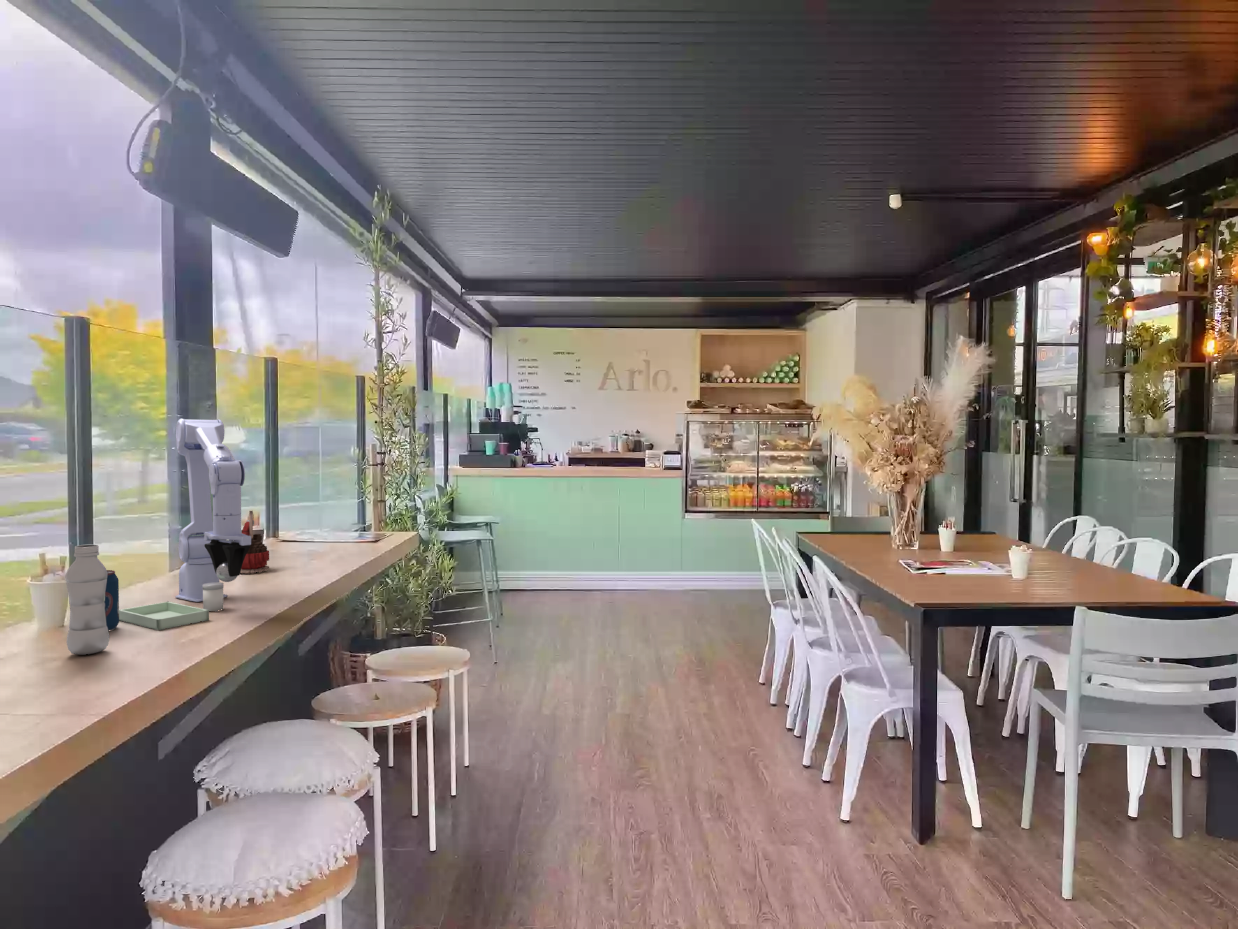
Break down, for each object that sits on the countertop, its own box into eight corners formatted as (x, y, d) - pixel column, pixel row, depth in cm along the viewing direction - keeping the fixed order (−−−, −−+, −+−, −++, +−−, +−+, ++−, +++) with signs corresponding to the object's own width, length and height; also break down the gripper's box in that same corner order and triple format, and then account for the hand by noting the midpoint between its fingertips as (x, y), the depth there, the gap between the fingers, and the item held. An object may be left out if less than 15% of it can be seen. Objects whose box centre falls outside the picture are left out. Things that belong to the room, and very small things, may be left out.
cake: (258, 575, 230) (258, 512, 230) (226, 575, 230) (226, 512, 230) (275, 569, 241) (274, 509, 240) (244, 568, 241) (243, 508, 240)
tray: (117, 620, 175) (117, 610, 175) (168, 610, 184) (168, 601, 184) (158, 630, 166) (157, 619, 166) (209, 620, 176) (208, 610, 176)
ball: (212, 583, 181) (211, 562, 181) (231, 580, 185) (230, 560, 185) (224, 583, 178) (223, 563, 178) (243, 580, 182) (242, 560, 182)
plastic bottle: (118, 650, 151) (116, 544, 150) (83, 660, 144) (81, 549, 144) (92, 647, 153) (91, 542, 152) (57, 656, 147) (56, 547, 146)
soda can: (77, 635, 161) (76, 576, 161) (81, 628, 168) (80, 570, 167) (117, 632, 165) (116, 573, 164) (120, 624, 171) (119, 568, 170)
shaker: (198, 610, 185) (198, 584, 185) (216, 607, 189) (216, 581, 189) (209, 612, 183) (209, 586, 183) (227, 609, 187) (227, 583, 186)
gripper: (191, 514, 181) (191, 574, 182) (230, 518, 174) (230, 580, 174) (220, 511, 187) (221, 569, 188) (259, 515, 180) (259, 576, 180)
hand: (227, 574), depth 181 cm, fingers closed on ball, 5 cm apart
